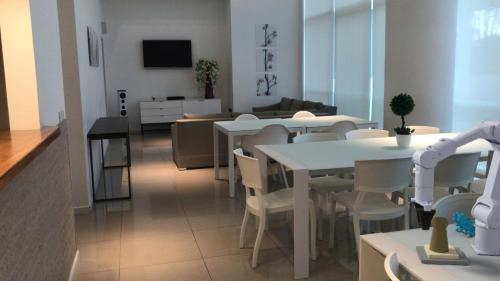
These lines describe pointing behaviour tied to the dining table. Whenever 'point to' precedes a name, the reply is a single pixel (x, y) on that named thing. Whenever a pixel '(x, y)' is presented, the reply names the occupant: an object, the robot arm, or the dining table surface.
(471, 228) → the blue lumpy cluster
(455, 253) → the grey flat slab
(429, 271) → the dining table surface
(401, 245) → the dining table surface
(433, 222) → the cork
